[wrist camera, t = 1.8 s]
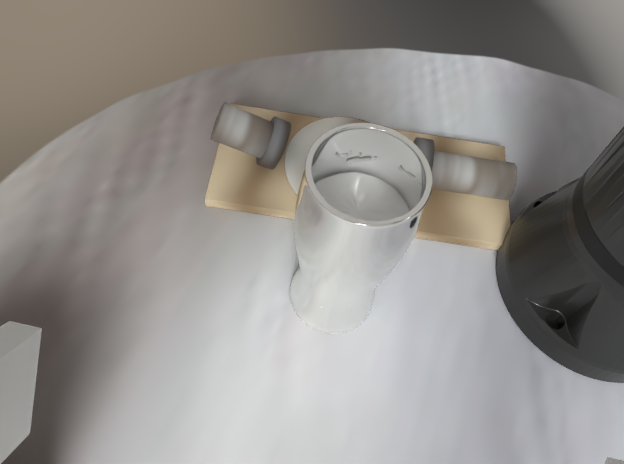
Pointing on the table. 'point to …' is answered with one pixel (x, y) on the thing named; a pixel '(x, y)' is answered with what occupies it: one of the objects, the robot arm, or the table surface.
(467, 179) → the shaft cradle
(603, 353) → the robot arm
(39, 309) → the table surface
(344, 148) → the beer glass
